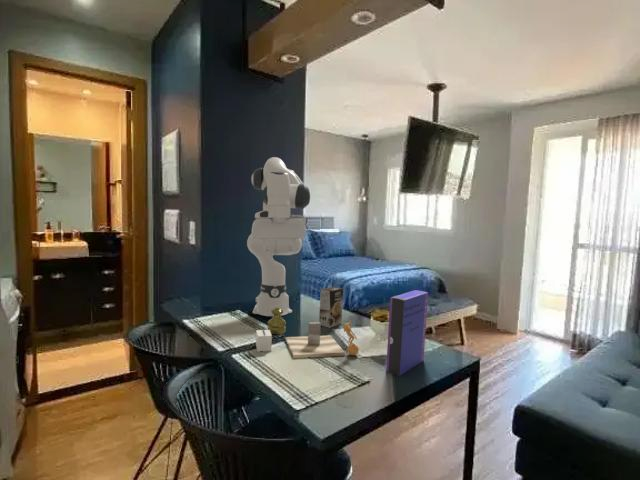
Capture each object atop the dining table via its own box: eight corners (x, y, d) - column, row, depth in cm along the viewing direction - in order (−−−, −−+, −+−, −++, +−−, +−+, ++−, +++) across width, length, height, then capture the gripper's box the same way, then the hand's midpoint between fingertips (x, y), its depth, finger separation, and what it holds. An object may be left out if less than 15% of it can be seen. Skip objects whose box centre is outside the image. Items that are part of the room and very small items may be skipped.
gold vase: (282, 336, 151) (283, 311, 150) (264, 334, 152) (265, 309, 152) (287, 330, 158) (288, 306, 157) (270, 328, 160) (271, 305, 159)
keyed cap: (255, 344, 140) (256, 329, 139) (269, 344, 141) (269, 329, 140) (257, 351, 133) (258, 335, 133) (271, 351, 134) (271, 335, 134)
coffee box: (330, 328, 164) (332, 291, 162) (318, 325, 167) (320, 288, 166) (342, 323, 171) (344, 288, 170) (330, 320, 175) (332, 285, 173)
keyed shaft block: (285, 340, 146) (286, 316, 145) (330, 338, 150) (331, 315, 150) (293, 358, 129) (294, 331, 128) (344, 355, 133) (346, 329, 132)
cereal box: (410, 356, 135) (415, 289, 133) (423, 360, 132) (428, 291, 130) (386, 371, 121) (390, 296, 119) (399, 376, 118) (404, 299, 116)
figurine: (363, 358, 131) (365, 324, 130) (348, 360, 129) (350, 325, 128) (351, 350, 139) (353, 317, 138) (337, 352, 136) (338, 319, 135)
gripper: (303, 215, 150) (303, 250, 150) (250, 214, 144) (250, 251, 144) (307, 214, 144) (307, 250, 143) (252, 212, 138) (252, 251, 138)
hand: (278, 251), depth 144 cm, fingers open, 8 cm apart
